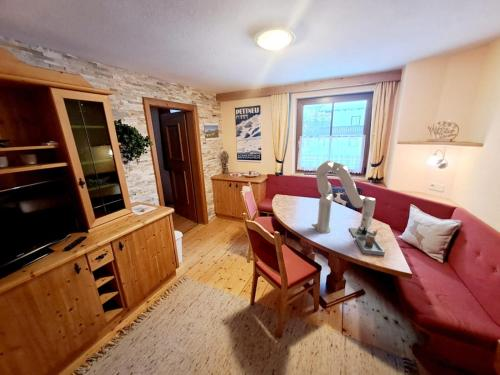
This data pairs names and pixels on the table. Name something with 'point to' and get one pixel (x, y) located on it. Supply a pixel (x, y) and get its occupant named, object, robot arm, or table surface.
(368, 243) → the block
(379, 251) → the tray
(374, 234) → the crank
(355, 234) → the crank base
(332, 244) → the table surface
